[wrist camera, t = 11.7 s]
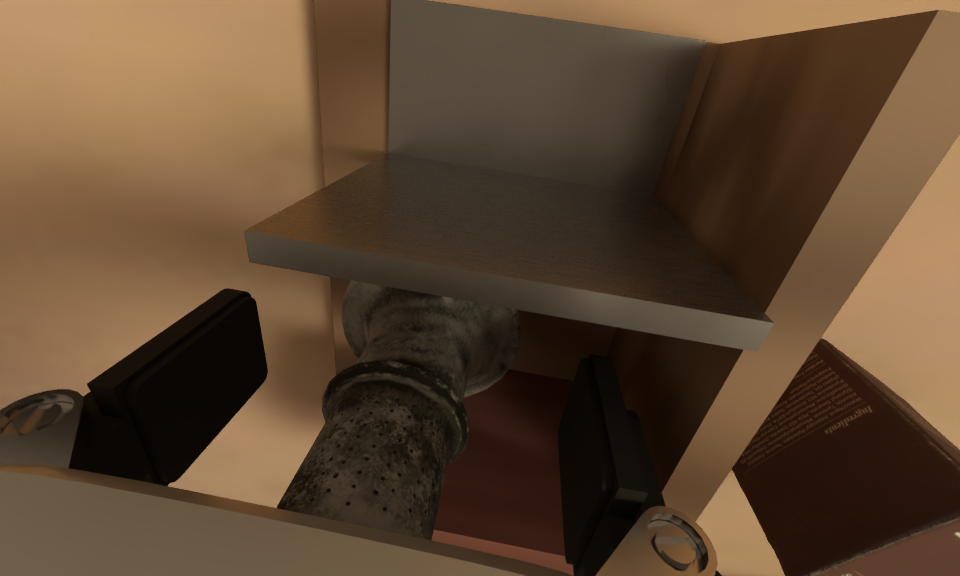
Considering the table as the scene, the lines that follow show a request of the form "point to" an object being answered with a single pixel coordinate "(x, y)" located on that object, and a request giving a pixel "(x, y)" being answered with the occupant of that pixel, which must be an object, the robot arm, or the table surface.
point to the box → (852, 477)
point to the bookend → (523, 179)
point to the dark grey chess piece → (400, 406)
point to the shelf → (718, 230)
